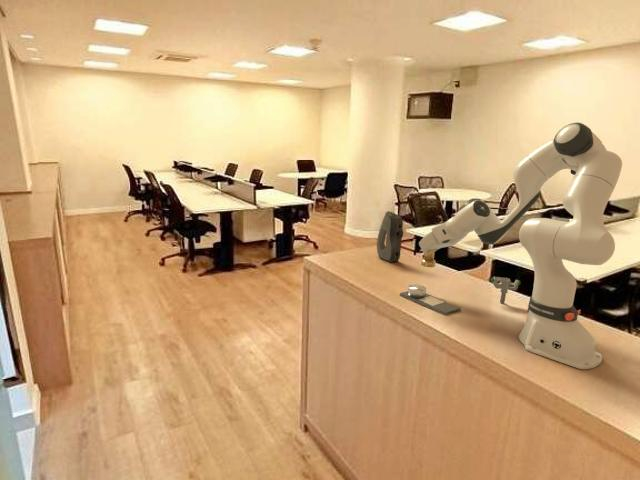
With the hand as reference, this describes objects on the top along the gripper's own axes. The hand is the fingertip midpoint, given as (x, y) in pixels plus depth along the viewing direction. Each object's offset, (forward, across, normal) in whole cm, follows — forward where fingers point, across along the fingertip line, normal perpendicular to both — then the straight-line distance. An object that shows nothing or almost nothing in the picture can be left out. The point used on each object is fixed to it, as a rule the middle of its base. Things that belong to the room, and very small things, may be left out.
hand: (428, 250), depth 166 cm
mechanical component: (-5, -17, +30) cm, 35 cm away
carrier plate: (+6, +8, +19) cm, 21 cm away
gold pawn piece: (+4, 0, +5) cm, 6 cm away
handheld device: (+41, -19, -16) cm, 48 cm away
